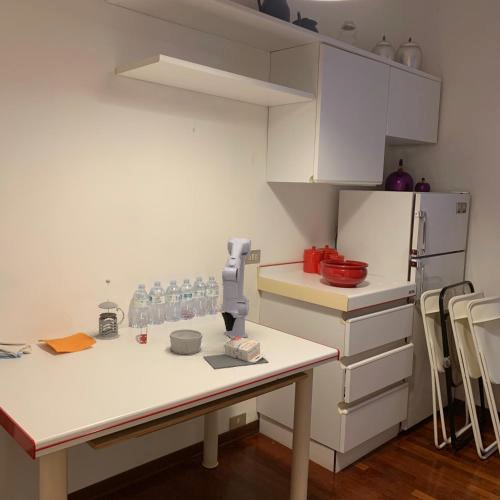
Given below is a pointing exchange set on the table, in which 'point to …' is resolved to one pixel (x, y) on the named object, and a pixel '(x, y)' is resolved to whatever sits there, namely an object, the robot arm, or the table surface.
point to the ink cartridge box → (243, 349)
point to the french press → (108, 321)
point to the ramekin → (185, 341)
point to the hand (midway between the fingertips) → (229, 330)
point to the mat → (229, 361)
